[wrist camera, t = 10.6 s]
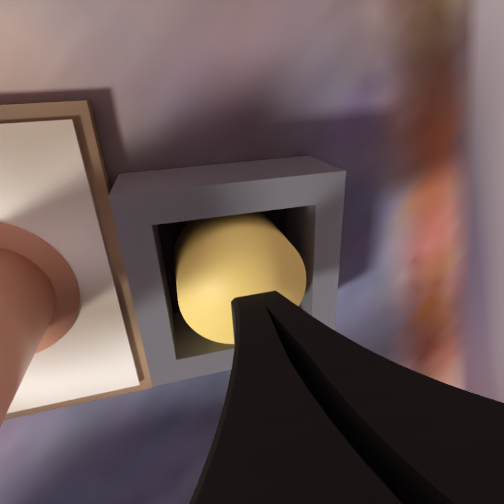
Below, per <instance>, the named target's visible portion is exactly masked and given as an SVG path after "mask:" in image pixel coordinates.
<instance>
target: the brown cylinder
mask: <svg viewBox="0 0 504 504" xmlns="http://www.w3.org/2000/svg"><path fill="white" fill-rule="evenodd" d="M55 307H56V297H55V292H54V288H53V286H52V284H51V282H50V280H49V278H48V277H47V276H46V274H45V273H44V272H43V271H42V270H41V269H40V268H39V267H38V266H37V265H36V264H34V263H33V262H32V261H30V260H29V259H27V258H25V257H24V256H22V255H20V254H17V253H15V252H13V251H10V250H7V249H3V248H0V426H1V424H2V422H3V420H4V418H5V416H6V413H7V411H8V409H9V407H10V405H11V403H12V401H13V399H14V397H15V394H16V392H17V390H18V388H19V386H20V384H21V382H22V380H23V378H24V375H25V373H26V371H27V369H28V367H29V365H30V363H31V361H32V359H33V357H34V354H35V352H36V350H37V348H38V346H39V344H40V342H41V340H42V338H43V335H44V333H45V331H46V329H47V327H48V325H49V323H50V321H51V319H52V316H53V314H54V311H55Z"/></svg>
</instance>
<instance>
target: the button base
mask: <svg viewBox="0 0 504 504" xmlns="http://www.w3.org/2000/svg"><path fill="white" fill-rule="evenodd" d="M345 183H346V170H344V169H341V168H339V167H336V166H334V165H332V164H329V163H327V162H325V161H322V160H320V159H317V158H315V157H313V156H310V155H307V156H297V157H286V158H276V159H265V160H255V161H244V162H234V163H223V164H213V165H202V166H192V167H181V168H171V169H160V170H150V171H139V172H129V173H119V174H118V176H117V178H116V181H115V183H114V185H113V187H112V189H111V191H110V194H109V196H108V197H109V202H110V206H111V210H112V214H113V219H114V223H115V227H116V232H117V236H118V240H119V244H120V249H121V253H122V257H123V262H124V266H125V270H126V274H127V279H128V283H129V287H130V292H131V296H132V300H133V304H134V309H135V313H136V317H137V322H138V326H139V330H140V334H141V339H142V343H143V347H144V352H145V356H146V360H147V364H148V369H149V373H150V377H151V382H152V386H158V385H162V384H167V383H172V382H176V381H181V380H185V379H190V378H195V377H199V376H204V375H208V374H213V373H218V372H222V371H227V370H231V369H232V363H233V355H234V348H235V344H224V343H219V342H215V341H212V340H209V339H207V338H205V337H203V336H201V335H200V334H198V333H197V332H195V331H194V330H193V329H192V328H191V327H190V326H189V325H188V324H187V322H186V321H185V319H184V318H183V316H182V313H181V312H176V313H173V310H172V304H171V299H170V293H169V287H168V281H167V276H166V270H165V264H164V259H163V253H162V247H161V242H160V236H159V230H158V224H166V223H174V222H182V221H189V220H197V219H205V218H213V217H221V216H229V215H237V214H245V213H253V212H261V211H269V210H277V209H285V208H286V238H287V240H288V241H289V242H290V243H291V244H292V245H293V246H294V248H295V249H296V250H297V252H298V253H299V255H300V256H301V258H302V260H303V263H304V266H305V271H306V288H305V292H304V296H303V298H302V301H301V303H300V305H299V307H300V308H301V309H303V310H304V311H306V312H307V313H309V314H310V315H311V316H313V317H314V318H316V319H317V320H319V321H320V322H322V323H323V324H325V325H327V326H328V327H330V328H331V329H333V330H335V321H336V307H337V293H338V279H339V265H340V252H341V238H342V224H343V210H344V197H345Z"/></svg>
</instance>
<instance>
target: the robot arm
mask: <svg viewBox="0 0 504 504" xmlns="http://www.w3.org/2000/svg"><path fill="white" fill-rule="evenodd" d="M231 309H232V321H233V332H234V344H235V348H234V355H233V363H232V370H231V375H230V380H229V385H228V390H227V394H226V398H225V403H224V406H223V410H222V413H221V417H220V420H219V424H218V427H217V431H216V434H215V437H214V440H213V443H212V446H211V449H210V452H209V454H208V457H207V460H206V462H205V465H204V468H203V471H202V473H201V476H200V479H199V481H198V484H197V487H196V489H195V492H194V494H193V497H192V499H191V501H190V504H504V403H502V402H499V401H495V400H492V399H489V398H486V397H483V396H480V395H477V394H474V393H471V392H468V391H465V390H462V389H459V388H456V387H454V386H451V385H448V384H445V383H443V382H440V381H438V380H435V379H433V378H430V377H428V376H425V375H422V374H420V373H417V372H415V371H413V370H410V369H408V368H406V367H403V366H401V365H399V364H397V363H395V362H392V361H390V360H388V359H386V358H384V357H382V356H380V355H378V354H376V353H374V352H372V351H370V350H368V349H366V348H364V347H362V346H360V345H359V344H357V343H355V342H353V341H352V340H350V339H348V338H346V337H345V336H343V335H341V334H339V333H338V332H336V331H335V330H333V329H331V328H330V327H328V326H327V325H325V324H323V323H322V322H320V321H319V320H317V319H316V318H314V317H313V316H311V315H310V314H309V313H307V312H306V311H304V310H303V309H301V308H300V307H298V306H297V305H296V304H294V303H293V302H291V301H290V300H289V299H287V298H286V297H284V296H283V295H282V294H280V293H279V292H277V291H270V292H264V293H259V294H253V295H247V296H242V297H236V298H234V299H233V300H232V301H231Z"/></svg>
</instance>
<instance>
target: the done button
mask: <svg viewBox="0 0 504 504" xmlns="http://www.w3.org/2000/svg"><path fill="white" fill-rule="evenodd" d="M174 266H175V276H176V286H177V296H178V304H179V308H180V311H181V313H182V316H183V318H184V319H185V321H186V322H187V324H188V325H189V326H190V327H191V328H192V329H193V330H194V331H195V332H197V333H198V334H200V335H201V336H203V337H205V338H207V339H209V340H212V341H215V342H219V343H224V344H234V332H233V321H232V309H231V301H232V300H233V299H234V298H236V297H242V296H247V295H253V294H259V293H264V292H270V291H277V292H279V293H280V294H282V295H283V296H284V297H286V298H287V299H289V300H290V301H291V302H293V303H294V304H296V305H297V306H298V307H299V305H300V303H301V301H302V298H303V296H304V292H305V288H306V271H305V266H304V263H303V260H302V258H301V256H300V255H299V253H298V252H297V250H296V249H295V248H294V246H293V245H292V244H291V243H290V242H289V241H288V240H287V238H286V237H285V236H284V235H283V234H282V233H281V232H280V231H279V229H278V228H277V227H276V226H275V225H274V224H273V223H272V221H271V220H270V219H269V218H268V217H267V216H266V215H265V214H263V213H262V212H253V213H245V214H237V215H229V216H221V217H213V218H205V219H197V220H190V221H189V222H188V223H187V224H186V225H185V227H184V228H183V229H182V231H181V233H180V235H179V236H178V239H177V241H176V244H175V249H174Z"/></svg>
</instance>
